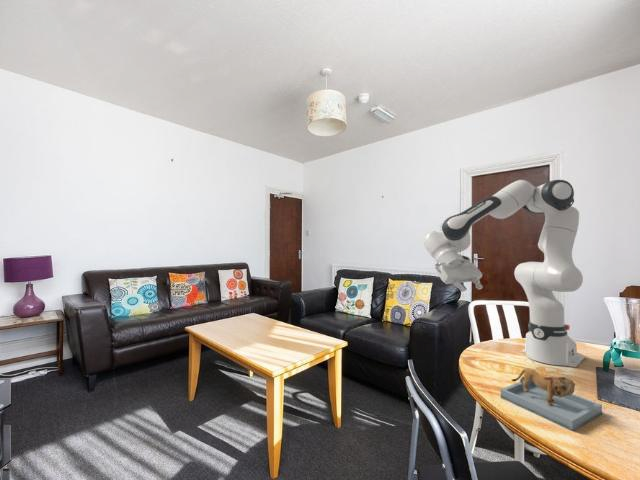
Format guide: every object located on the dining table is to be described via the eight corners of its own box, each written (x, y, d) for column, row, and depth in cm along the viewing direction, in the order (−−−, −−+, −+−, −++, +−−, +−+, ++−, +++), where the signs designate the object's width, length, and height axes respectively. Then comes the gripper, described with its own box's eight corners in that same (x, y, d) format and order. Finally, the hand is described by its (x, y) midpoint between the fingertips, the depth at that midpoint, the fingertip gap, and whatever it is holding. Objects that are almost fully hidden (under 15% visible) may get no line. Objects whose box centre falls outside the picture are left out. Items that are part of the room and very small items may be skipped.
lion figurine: (571, 408, 83) (579, 379, 82) (566, 414, 79) (574, 384, 78) (513, 379, 94) (519, 353, 93) (507, 384, 91) (513, 357, 90)
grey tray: (530, 385, 96) (530, 378, 96) (602, 413, 80) (601, 404, 80) (500, 397, 89) (500, 389, 89) (572, 431, 73) (572, 421, 73)
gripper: (437, 258, 115) (459, 286, 106) (471, 257, 124) (494, 282, 115) (428, 269, 119) (449, 296, 110) (462, 266, 128) (484, 292, 119)
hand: (472, 289), depth 112 cm, fingers open, 8 cm apart
